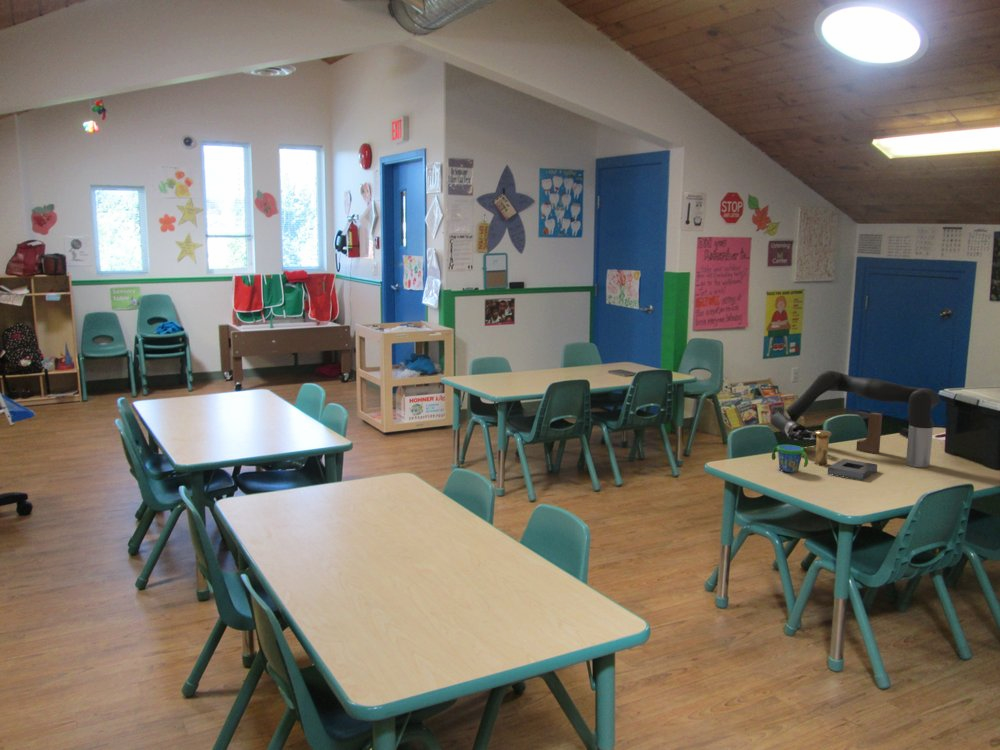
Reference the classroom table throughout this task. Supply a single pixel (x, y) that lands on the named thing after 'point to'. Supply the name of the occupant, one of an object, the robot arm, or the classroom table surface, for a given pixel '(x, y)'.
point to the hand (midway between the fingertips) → (810, 439)
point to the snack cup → (789, 457)
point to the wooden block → (872, 435)
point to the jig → (852, 469)
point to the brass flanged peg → (822, 446)
